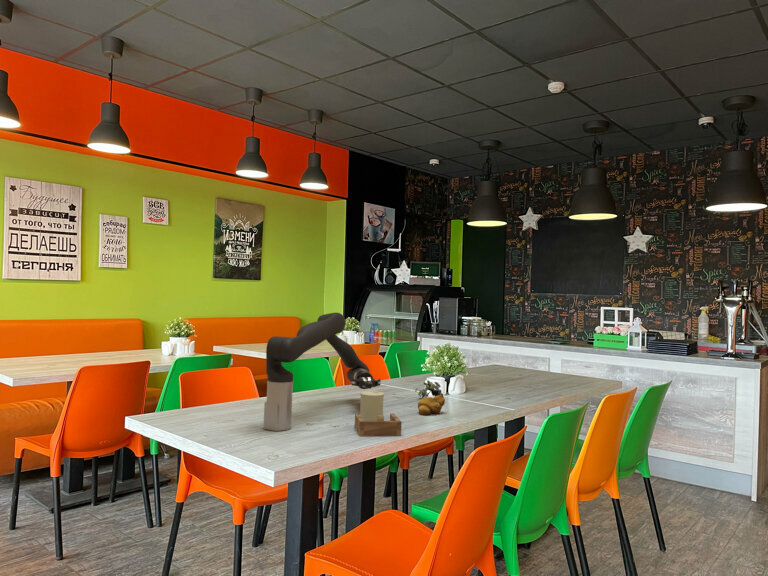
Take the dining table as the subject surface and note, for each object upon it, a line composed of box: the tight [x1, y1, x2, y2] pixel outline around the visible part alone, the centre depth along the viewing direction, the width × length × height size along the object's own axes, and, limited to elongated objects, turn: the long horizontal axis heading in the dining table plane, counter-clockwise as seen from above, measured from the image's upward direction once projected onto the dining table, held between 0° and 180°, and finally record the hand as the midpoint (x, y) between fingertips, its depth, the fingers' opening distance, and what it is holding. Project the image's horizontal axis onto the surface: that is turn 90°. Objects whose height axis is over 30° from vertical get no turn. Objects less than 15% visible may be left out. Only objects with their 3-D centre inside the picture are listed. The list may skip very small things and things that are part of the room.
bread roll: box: [417, 395, 446, 415], centre depth 238 cm, size 13×10×8 cm
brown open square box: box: [354, 413, 403, 437], centre depth 202 cm, size 14×15×7 cm
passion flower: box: [415, 379, 444, 399], centre depth 269 cm, size 11×11×12 cm
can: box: [359, 390, 385, 421], centre depth 216 cm, size 9×9×12 cm
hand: (369, 386), depth 225 cm, fingers closed
